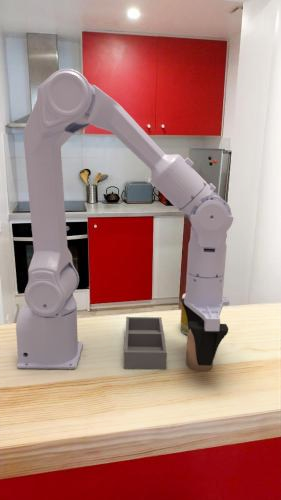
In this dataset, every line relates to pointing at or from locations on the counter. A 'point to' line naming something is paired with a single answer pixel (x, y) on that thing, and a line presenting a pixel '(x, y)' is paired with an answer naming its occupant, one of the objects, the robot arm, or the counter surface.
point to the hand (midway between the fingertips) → (200, 351)
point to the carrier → (144, 343)
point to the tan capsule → (194, 356)
